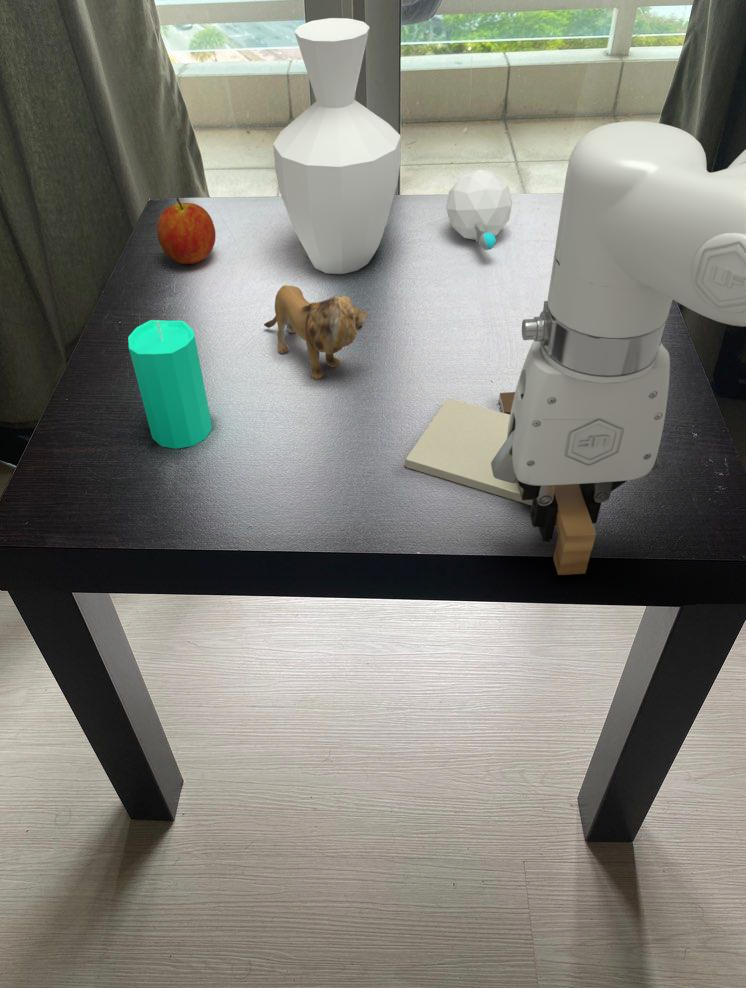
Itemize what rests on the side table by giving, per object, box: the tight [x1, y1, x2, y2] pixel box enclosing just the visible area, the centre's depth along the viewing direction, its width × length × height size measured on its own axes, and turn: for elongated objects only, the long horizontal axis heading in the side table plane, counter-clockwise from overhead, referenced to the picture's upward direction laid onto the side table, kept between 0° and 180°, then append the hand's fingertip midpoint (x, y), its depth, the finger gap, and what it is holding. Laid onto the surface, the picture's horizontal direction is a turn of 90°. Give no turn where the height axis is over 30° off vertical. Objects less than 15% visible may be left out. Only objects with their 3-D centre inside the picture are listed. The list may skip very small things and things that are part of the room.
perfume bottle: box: [445, 168, 513, 251], centre depth 103 cm, size 8×8×12 cm
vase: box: [272, 17, 402, 275], centre depth 95 cm, size 14×14×25 cm
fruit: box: [156, 197, 216, 265], centre depth 102 cm, size 7×7×8 cm
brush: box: [518, 462, 597, 576], centre depth 69 cm, size 14×5×5 cm, turn 2°
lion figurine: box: [263, 284, 368, 380], centre depth 87 cm, size 15×5×9 cm, turn 44°
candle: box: [127, 319, 213, 450], centre depth 78 cm, size 6×6×12 cm
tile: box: [404, 397, 533, 507], centre depth 77 cm, size 16×10×1 cm, turn 63°
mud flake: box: [498, 391, 515, 415], centre depth 82 cm, size 3×3×1 cm
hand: (561, 526), depth 68 cm, fingers closed on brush
